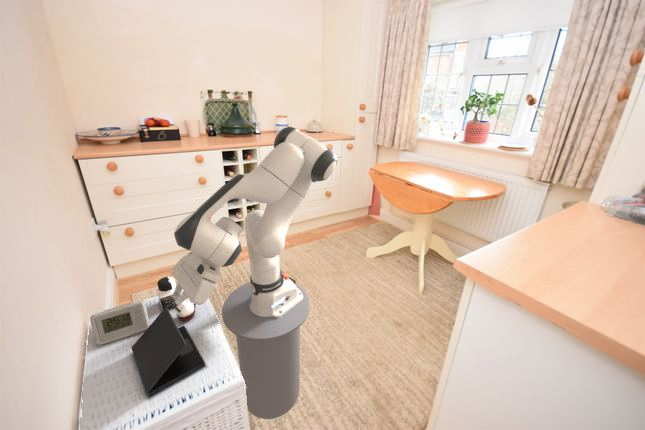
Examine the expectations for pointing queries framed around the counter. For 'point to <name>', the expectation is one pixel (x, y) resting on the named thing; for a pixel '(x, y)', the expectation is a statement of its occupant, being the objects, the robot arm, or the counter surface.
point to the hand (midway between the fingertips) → (175, 300)
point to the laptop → (180, 365)
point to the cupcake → (185, 310)
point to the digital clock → (119, 322)
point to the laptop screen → (157, 349)
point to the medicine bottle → (166, 292)
